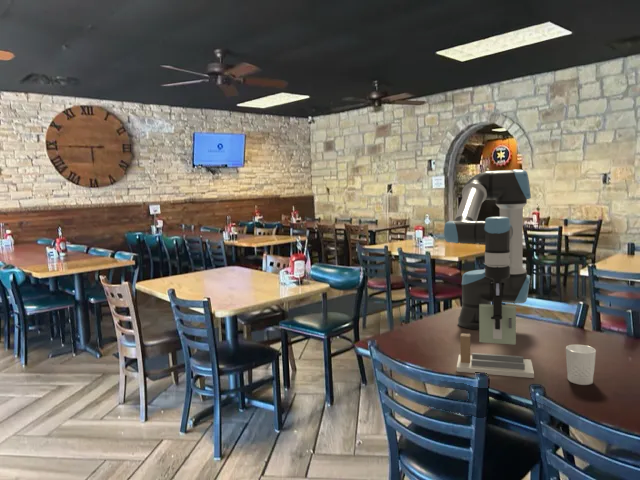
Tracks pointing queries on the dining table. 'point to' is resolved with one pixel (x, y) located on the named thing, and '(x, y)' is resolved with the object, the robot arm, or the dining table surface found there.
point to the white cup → (580, 364)
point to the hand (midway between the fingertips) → (497, 336)
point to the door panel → (507, 324)
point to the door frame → (492, 362)
